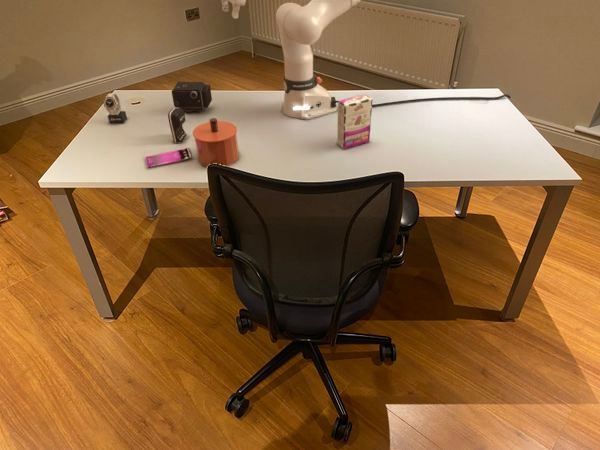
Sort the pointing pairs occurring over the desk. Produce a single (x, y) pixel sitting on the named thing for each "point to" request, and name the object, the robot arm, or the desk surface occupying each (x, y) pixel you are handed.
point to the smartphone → (168, 157)
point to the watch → (114, 109)
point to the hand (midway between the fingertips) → (230, 14)
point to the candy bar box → (354, 121)
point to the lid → (214, 131)
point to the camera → (192, 96)
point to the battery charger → (177, 124)
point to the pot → (218, 152)
